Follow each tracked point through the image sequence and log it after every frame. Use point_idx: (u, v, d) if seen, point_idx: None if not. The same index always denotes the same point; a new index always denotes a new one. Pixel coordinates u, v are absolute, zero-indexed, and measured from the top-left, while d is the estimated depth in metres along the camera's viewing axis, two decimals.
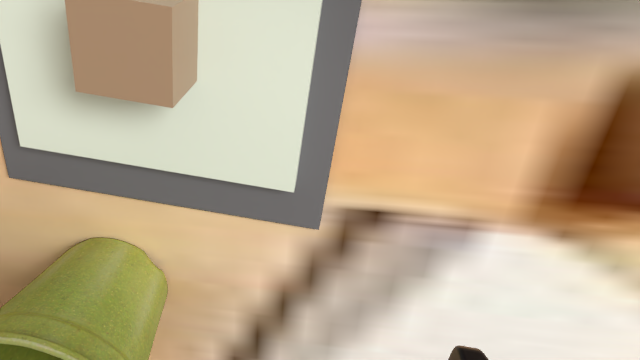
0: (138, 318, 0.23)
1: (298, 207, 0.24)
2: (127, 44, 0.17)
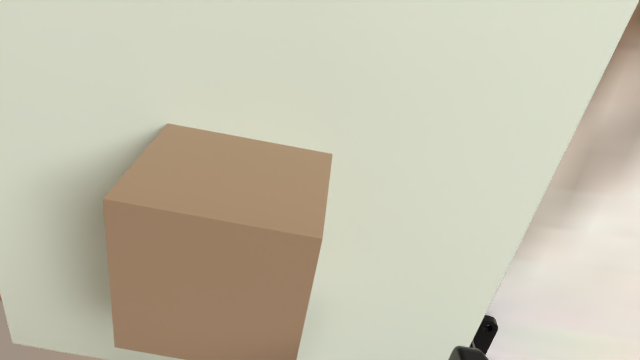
0: None
1: None
2: (222, 288, 0.09)
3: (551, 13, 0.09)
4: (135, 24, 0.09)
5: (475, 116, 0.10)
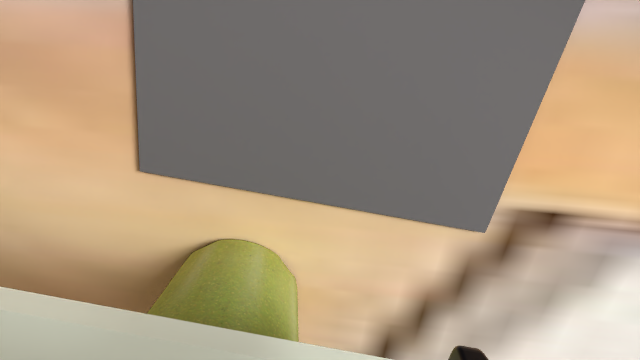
0: (292, 331, 0.21)
1: (467, 208, 0.21)
2: None
3: None
4: None
5: None
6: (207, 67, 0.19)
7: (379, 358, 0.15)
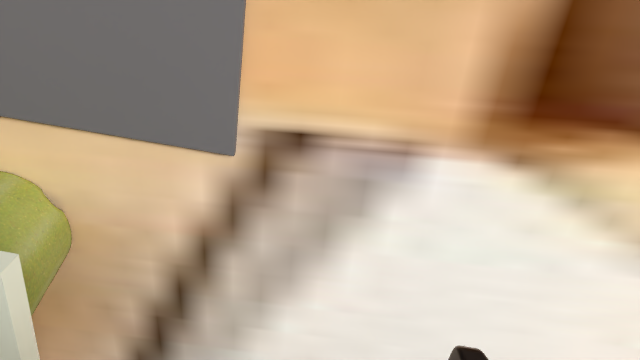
0: None
1: (207, 127, 0.20)
2: None
3: None
4: None
5: None
6: None
7: None
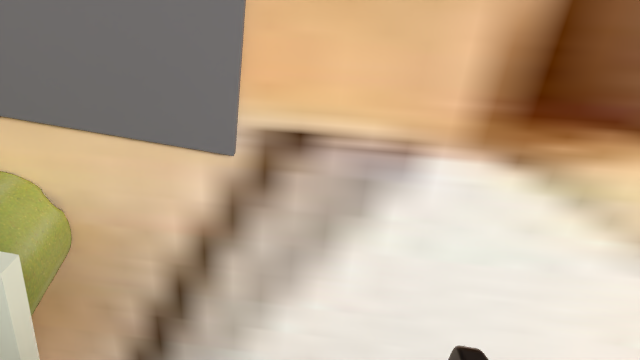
0: None
1: (207, 127, 0.20)
2: None
3: None
4: None
5: None
6: None
7: None
